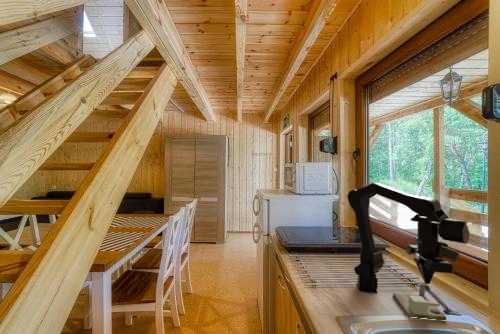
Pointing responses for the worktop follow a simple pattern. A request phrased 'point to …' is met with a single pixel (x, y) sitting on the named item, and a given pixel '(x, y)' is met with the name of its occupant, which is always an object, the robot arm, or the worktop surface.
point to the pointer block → (420, 305)
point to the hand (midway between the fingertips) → (427, 283)
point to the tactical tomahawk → (440, 301)
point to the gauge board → (432, 314)
